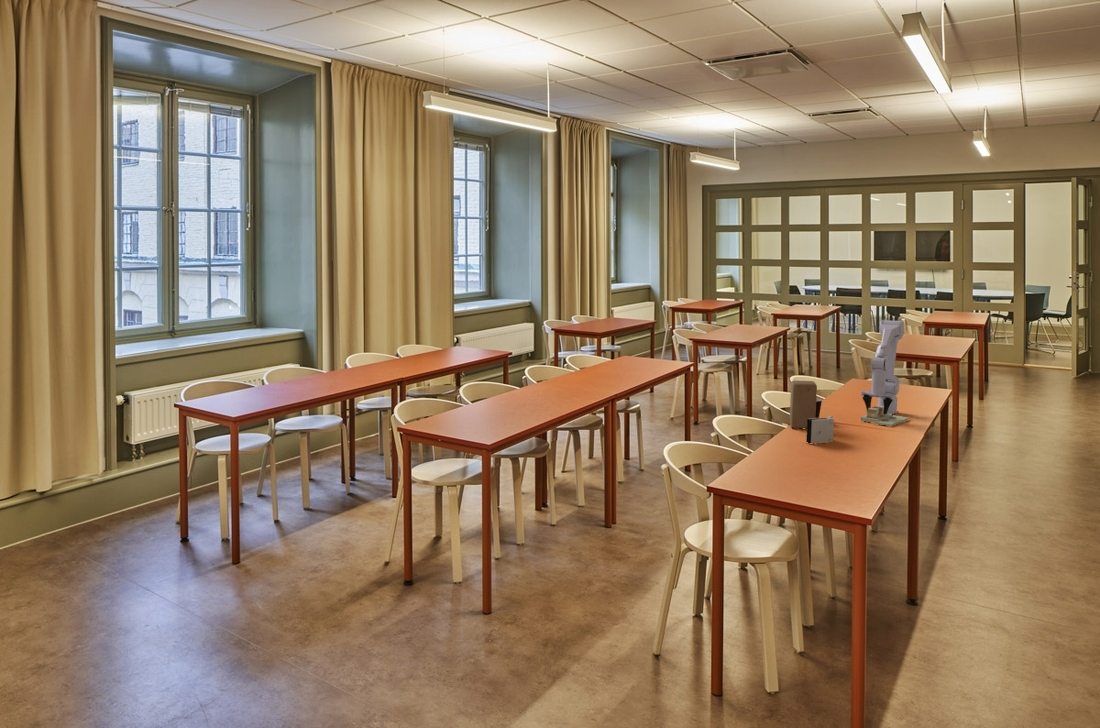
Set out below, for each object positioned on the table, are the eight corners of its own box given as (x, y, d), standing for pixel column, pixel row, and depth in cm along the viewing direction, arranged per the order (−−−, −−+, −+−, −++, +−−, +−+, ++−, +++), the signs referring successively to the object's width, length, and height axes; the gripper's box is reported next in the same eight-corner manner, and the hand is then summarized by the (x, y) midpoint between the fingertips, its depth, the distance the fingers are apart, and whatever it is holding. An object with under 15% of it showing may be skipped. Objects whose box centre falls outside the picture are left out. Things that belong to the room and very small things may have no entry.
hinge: (830, 439, 337) (831, 415, 336) (840, 442, 333) (841, 418, 331) (804, 443, 331) (805, 418, 330) (813, 446, 327) (815, 421, 325)
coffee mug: (823, 423, 367) (824, 401, 366) (804, 423, 368) (805, 401, 366) (815, 417, 379) (816, 396, 378) (796, 417, 379) (797, 396, 378)
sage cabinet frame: (877, 415, 384) (877, 411, 383) (909, 420, 373) (909, 415, 373) (858, 422, 370) (859, 417, 369) (890, 427, 359) (891, 422, 359)
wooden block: (815, 430, 354) (817, 384, 351) (791, 429, 356) (793, 383, 353) (812, 425, 364) (814, 380, 361) (789, 424, 366) (791, 380, 363)
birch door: (877, 417, 379) (878, 405, 378) (885, 419, 377) (886, 406, 376) (866, 421, 371) (867, 408, 370) (874, 423, 368) (875, 410, 367)
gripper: (859, 382, 374) (857, 411, 376) (890, 386, 364) (889, 416, 366) (865, 380, 379) (864, 409, 381) (897, 384, 369) (895, 414, 371)
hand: (876, 412), depth 373 cm, fingers open, 7 cm apart
